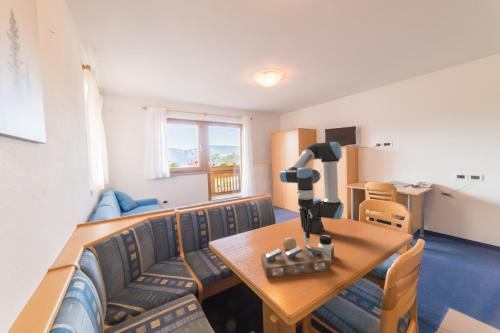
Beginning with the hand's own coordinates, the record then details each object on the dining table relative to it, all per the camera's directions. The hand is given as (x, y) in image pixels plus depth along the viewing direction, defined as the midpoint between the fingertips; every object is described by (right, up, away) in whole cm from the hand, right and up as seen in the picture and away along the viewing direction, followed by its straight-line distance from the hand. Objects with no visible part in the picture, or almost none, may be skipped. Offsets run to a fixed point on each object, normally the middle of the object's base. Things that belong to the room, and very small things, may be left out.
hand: (307, 243), depth 101 cm
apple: (-5, -11, +19) cm, 23 cm away
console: (-7, -12, 0) cm, 14 cm away
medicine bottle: (+13, -11, +7) cm, 18 cm away
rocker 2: (-7, -4, -1) cm, 8 cm away
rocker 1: (-17, -5, -2) cm, 18 cm away
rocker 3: (+3, -4, +1) cm, 5 cm away
